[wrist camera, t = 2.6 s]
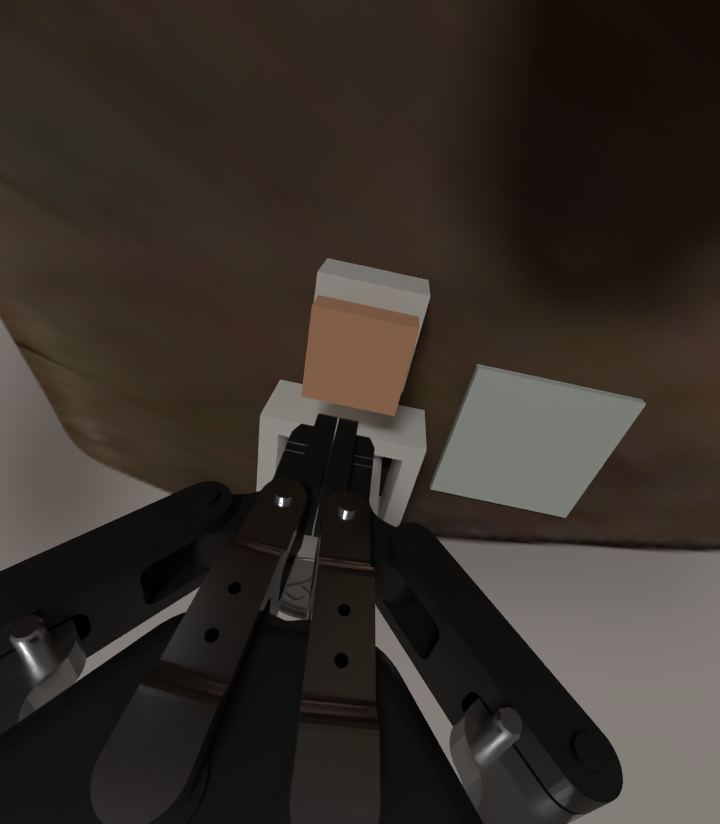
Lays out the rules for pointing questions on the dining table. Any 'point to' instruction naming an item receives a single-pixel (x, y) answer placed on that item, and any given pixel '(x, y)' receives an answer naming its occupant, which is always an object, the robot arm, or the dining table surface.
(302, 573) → the can
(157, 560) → the robot arm
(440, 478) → the pad
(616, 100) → the dining table surface
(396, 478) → the white piece
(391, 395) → the light brown square block
